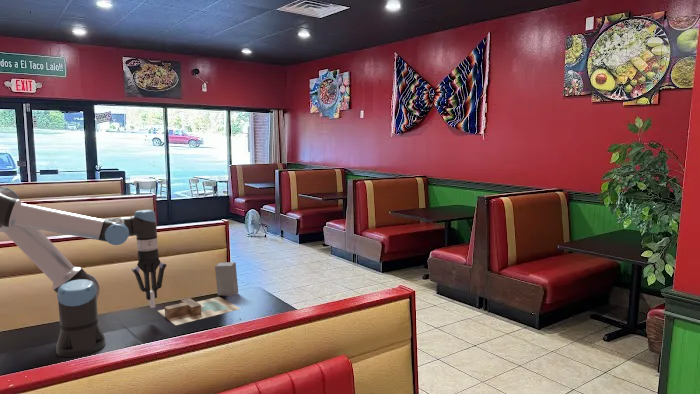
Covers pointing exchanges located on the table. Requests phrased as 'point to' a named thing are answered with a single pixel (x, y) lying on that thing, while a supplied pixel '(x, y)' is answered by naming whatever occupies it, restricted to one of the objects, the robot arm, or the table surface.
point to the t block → (183, 309)
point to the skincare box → (226, 278)
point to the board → (205, 310)
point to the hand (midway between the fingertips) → (152, 306)
